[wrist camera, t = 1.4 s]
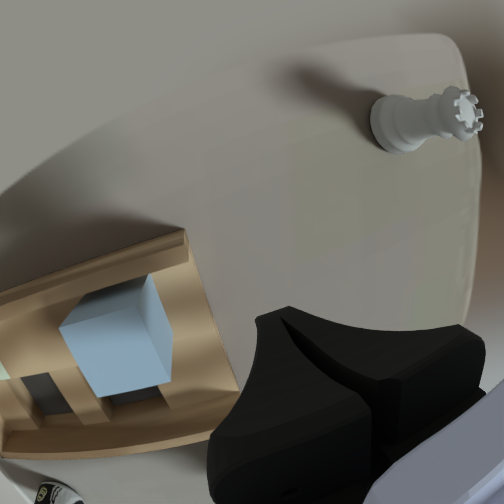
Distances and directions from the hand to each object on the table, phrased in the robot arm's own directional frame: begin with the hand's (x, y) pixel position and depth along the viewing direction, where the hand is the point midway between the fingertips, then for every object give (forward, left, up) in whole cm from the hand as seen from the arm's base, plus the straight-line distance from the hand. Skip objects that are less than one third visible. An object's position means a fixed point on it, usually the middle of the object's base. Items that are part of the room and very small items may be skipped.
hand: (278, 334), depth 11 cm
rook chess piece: (+7, -13, -9) cm, 18 cm away
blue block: (0, +7, -7) cm, 10 cm away
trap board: (-3, +14, -9) cm, 16 cm away
